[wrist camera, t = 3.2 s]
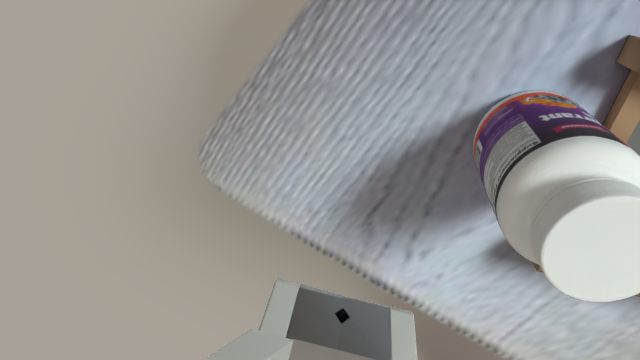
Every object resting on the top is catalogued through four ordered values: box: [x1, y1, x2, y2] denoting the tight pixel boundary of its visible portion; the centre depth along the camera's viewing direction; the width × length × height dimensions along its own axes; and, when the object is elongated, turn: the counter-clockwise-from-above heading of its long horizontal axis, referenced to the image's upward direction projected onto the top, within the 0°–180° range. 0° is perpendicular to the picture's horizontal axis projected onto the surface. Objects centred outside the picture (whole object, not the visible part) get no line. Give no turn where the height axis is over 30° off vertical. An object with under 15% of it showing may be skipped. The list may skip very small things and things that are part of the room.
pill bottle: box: [473, 90, 640, 302], centre depth 19 cm, size 5×5×10 cm
